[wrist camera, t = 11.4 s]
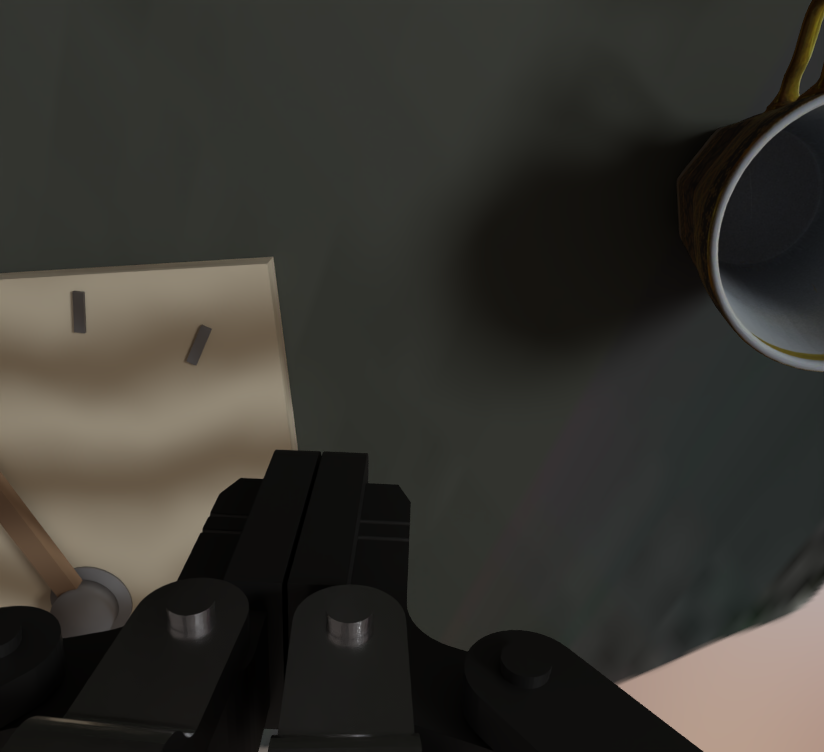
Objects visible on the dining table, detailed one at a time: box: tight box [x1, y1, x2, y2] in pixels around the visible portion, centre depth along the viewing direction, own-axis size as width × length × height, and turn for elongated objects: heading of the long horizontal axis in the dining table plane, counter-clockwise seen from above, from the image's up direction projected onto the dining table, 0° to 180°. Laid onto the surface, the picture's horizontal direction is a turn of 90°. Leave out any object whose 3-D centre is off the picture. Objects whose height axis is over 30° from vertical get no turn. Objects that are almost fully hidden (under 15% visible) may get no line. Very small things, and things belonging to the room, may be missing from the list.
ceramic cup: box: [677, 0, 824, 372], centre depth 31 cm, size 13×10×10 cm
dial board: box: [0, 257, 298, 630], centre depth 41 cm, size 20×24×2 cm
